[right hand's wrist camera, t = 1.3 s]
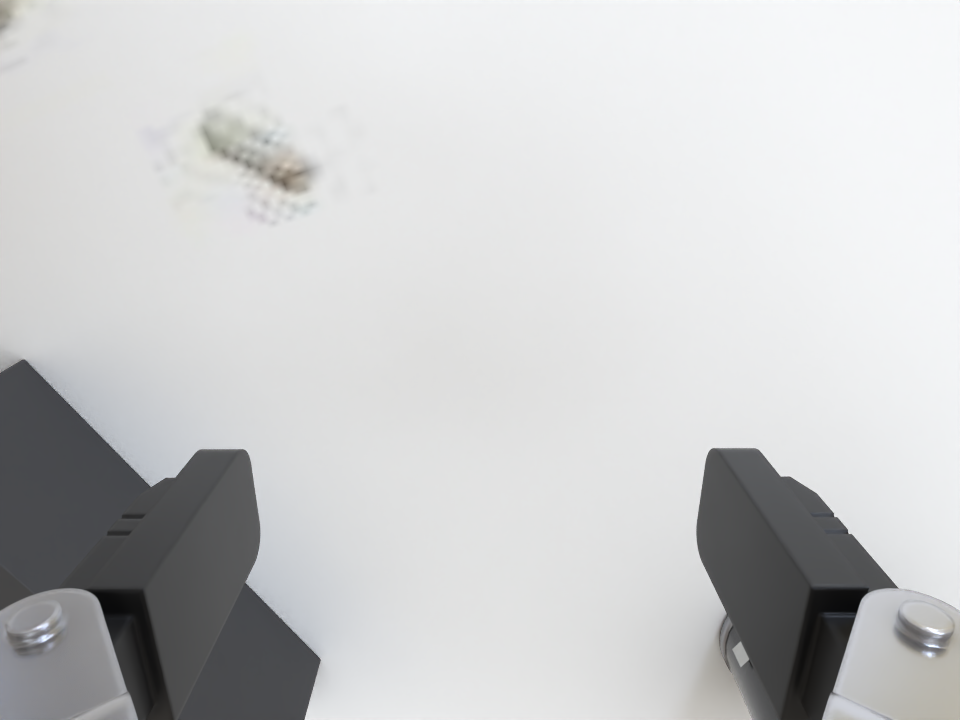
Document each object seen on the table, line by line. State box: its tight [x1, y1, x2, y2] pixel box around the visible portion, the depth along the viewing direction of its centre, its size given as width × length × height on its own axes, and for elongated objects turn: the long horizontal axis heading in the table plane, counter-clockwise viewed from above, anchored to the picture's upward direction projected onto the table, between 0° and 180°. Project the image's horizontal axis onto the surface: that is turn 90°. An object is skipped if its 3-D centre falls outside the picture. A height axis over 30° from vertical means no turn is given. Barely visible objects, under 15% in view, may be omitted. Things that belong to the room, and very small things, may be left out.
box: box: [0, 360, 321, 720], centre depth 38 cm, size 27×6×10 cm, turn 33°
